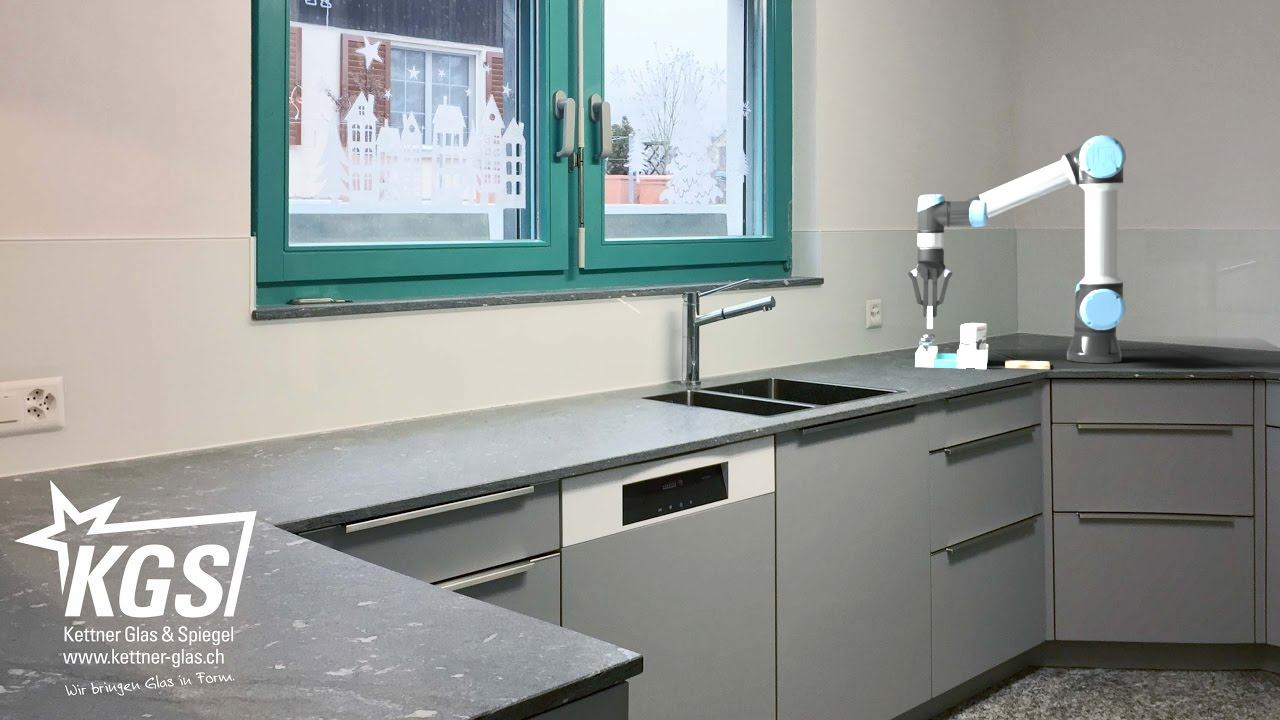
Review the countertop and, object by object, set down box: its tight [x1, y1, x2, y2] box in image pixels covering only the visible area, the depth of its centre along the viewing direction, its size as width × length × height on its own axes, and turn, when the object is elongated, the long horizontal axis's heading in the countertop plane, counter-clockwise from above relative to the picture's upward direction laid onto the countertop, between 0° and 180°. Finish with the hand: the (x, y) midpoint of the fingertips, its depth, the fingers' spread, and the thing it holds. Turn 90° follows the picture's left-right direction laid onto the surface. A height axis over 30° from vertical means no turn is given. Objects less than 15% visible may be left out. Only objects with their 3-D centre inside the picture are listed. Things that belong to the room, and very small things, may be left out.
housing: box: [914, 343, 989, 370], centre depth 350 cm, size 20×19×5 cm
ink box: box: [959, 322, 988, 350], centre depth 348 cm, size 8×5×12 cm, turn 143°
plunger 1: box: [921, 333, 935, 348], centre depth 357 cm, size 4×4×7 cm
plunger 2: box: [918, 336, 933, 352], centre depth 347 cm, size 4×4×7 cm
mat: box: [1004, 359, 1051, 370], centre depth 344 cm, size 12×10×1 cm
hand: (929, 328), depth 356 cm, fingers closed
